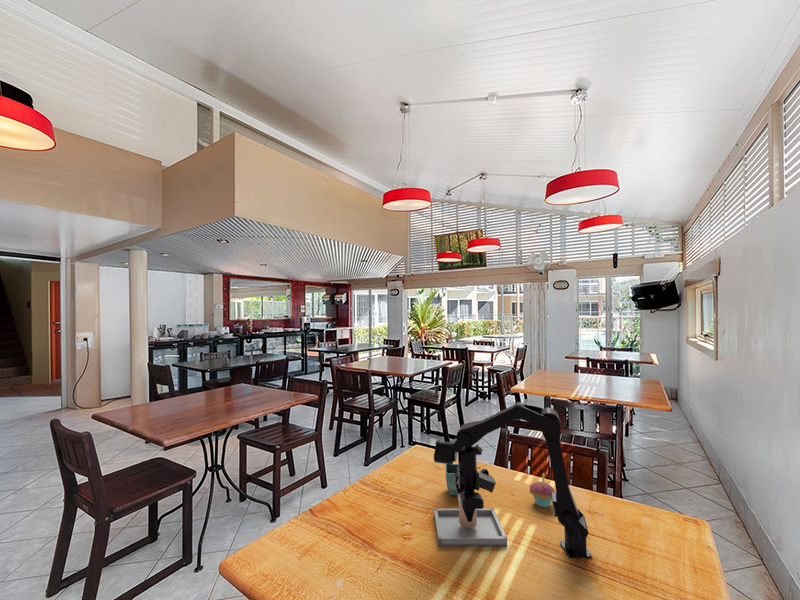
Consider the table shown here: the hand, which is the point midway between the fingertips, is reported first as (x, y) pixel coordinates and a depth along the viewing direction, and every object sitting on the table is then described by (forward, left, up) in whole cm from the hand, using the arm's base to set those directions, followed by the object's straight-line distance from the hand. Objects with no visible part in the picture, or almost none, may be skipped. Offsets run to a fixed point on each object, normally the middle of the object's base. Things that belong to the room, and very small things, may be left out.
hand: (468, 516), depth 115 cm
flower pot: (+23, 0, -4) cm, 23 cm away
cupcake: (+15, -29, -4) cm, 33 cm away
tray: (0, 0, -4) cm, 4 cm away
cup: (0, 0, -2) cm, 2 cm away
